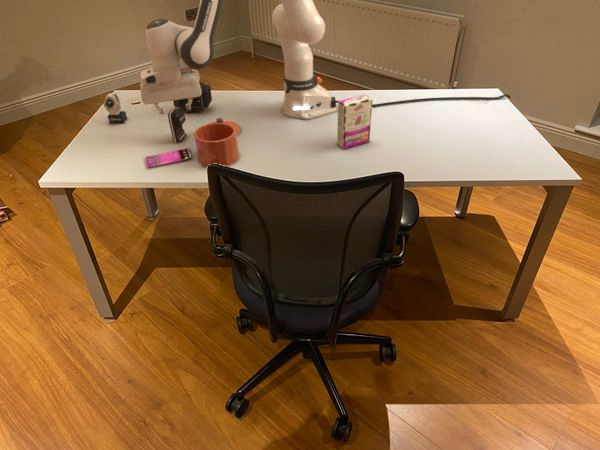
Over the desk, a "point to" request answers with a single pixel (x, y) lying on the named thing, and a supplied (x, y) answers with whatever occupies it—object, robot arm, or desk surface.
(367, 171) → the desk surface
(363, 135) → the candy bar box
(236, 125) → the lid
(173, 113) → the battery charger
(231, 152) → the pot
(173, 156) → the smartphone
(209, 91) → the camera
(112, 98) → the watch
